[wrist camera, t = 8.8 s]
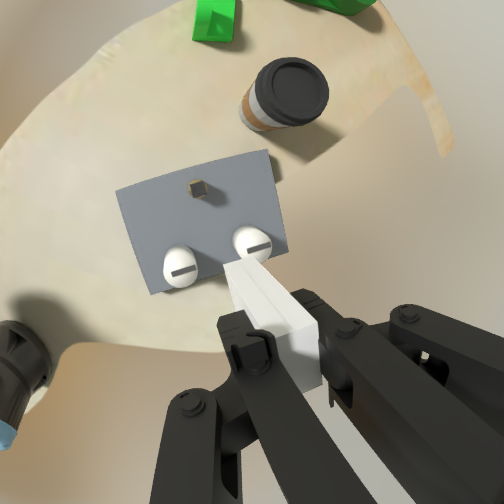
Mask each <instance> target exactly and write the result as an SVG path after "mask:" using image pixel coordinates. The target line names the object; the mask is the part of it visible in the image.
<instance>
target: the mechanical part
mask: <svg viewBox="0 0 504 504" xmlns="http://www.w3.org/2000/svg"><path fill="white" fill-rule="evenodd" d="M234 11H235V0H197V7H196V14H195V21H194V29H193V37H192V40H196V41H217V42H231V40H232V38H233V25H234Z"/></svg>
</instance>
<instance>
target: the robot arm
mask: <svg viewBox="0 0 504 504" xmlns="http://www.w3.org/2000/svg"><path fill="white" fill-rule="evenodd" d="M223 267H224V270H225V274H226V278H227V282H228V286H229V289H230V293H231V297H232V301H233V304H234V308H235V312H234V313H230V314H227V315H224V316H221V317H219V320H218V322H217V328H218V331H219V334H220V337H221V340H222V343H223V346H224V349H225V352H226V355H227V358H228V360H229V363H230V366H231V373H230V376H229V377H228V379H227V380H226V381H225V383H224V384H222V385H221V386H220V387H218V388H216V389H215V390H213V391H211V392H210V391H208V390H205V389H202V388H194V389H189V390H185V391H183V392H181V393H179V394H178V395H176V396H175V397H174V398H173V399H172V400H171V403H170V405H169V407H168V410H167V415H166V420H165V424H164V429H163V433H162V438H161V443H160V448H159V454H158V458H157V464H156V469H155V474H154V480H153V485H152V491H151V497H150V503H149V504H243V498H242V472H241V450H242V449H243V448H245V447H247V446H248V445H250V444H251V443H253V442H254V441H256V440H257V439H259V441H260V443H261V446H262V448H263V450H264V453H265V455H266V457H267V459H268V462H269V464H270V466H271V468H272V471H273V473H274V475H275V477H276V479H277V482H278V484H279V486H280V488H281V490H282V492H283V494H284V496H285V498H286V500H287V503H288V504H377V502H376V501H375V500H374V498H373V497H372V495H371V494H370V493H369V491H368V490H367V489H366V487H365V486H364V485H363V483H362V482H361V480H360V479H359V477H358V476H357V475H356V473H355V472H354V470H353V469H352V467H351V466H350V465H349V463H348V462H347V460H346V459H345V457H344V456H343V454H342V453H341V452H340V450H339V449H338V447H337V446H336V444H335V443H334V441H333V440H332V438H331V437H330V435H329V434H328V433H327V431H326V430H325V428H324V427H323V425H322V424H321V422H320V421H319V419H318V418H317V416H316V415H315V413H314V412H313V410H312V408H311V407H310V405H309V404H308V402H307V401H306V399H305V398H304V396H303V395H302V393H304V392H307V391H309V390H312V389H314V388H316V387H318V386H320V385H322V375H323V376H324V377H325V378H326V380H327V381H328V386H329V404H330V407H331V408H332V407H333V406H334V400H335V401H336V402H337V404H338V405H339V406H340V408H341V409H342V410H343V412H344V413H345V414H346V415H347V417H348V418H349V419H350V421H351V422H352V423H353V425H354V426H355V427H356V429H357V430H358V431H359V432H360V434H361V435H362V436H363V438H364V439H365V440H366V441H367V443H368V444H369V445H370V447H371V448H372V449H373V450H374V452H375V453H376V454H377V455H378V457H379V458H380V459H381V461H382V462H383V463H384V464H385V465H386V467H387V468H388V469H389V471H390V472H391V473H392V474H393V476H394V477H395V478H396V479H397V481H398V482H399V483H400V484H401V486H402V487H403V488H404V489H405V490H406V492H407V493H408V494H409V495H410V497H411V498H412V499H413V500H414V501H415V503H416V504H504V338H502V337H500V336H498V335H495V334H492V333H490V332H487V331H485V330H482V329H479V328H477V327H474V326H471V325H469V324H466V323H464V322H461V321H458V320H456V319H453V318H450V317H448V316H445V315H442V314H440V313H437V312H434V311H432V310H429V309H426V308H424V307H421V306H418V305H413V304H405V305H400V306H398V307H396V308H394V309H393V310H392V311H391V313H390V321H388V322H384V323H380V324H375V325H368V324H366V323H365V322H363V321H361V320H360V319H355V318H343V317H342V316H341V315H340V314H339V313H338V312H336V311H335V310H334V309H333V308H332V307H331V306H329V305H328V304H327V303H325V302H324V300H322V299H320V297H319V296H317V294H315V293H314V292H312V291H309V290H306V289H300V290H297V291H294V292H291V293H288V291H287V290H286V289H284V287H283V286H281V284H280V283H279V282H278V281H277V280H276V279H275V278H274V277H272V275H271V274H270V273H269V272H268V271H267V270H266V269H265V268H264V267H263V266H262V265H261V264H260V263H259V262H258V261H257V260H256V259H255V258H254V257H253V256H251V257H247V258H244V259H240V260H237V261H234V262H230V263H227V264H223ZM422 351H424V352H426V353H428V354H429V358H428V359H426V360H425V359H422V358H421V356H422ZM50 374H51V361H50V357H49V355H48V353H47V351H46V349H45V347H44V346H43V344H42V343H41V342H40V340H39V339H38V338H37V337H36V336H35V335H34V334H33V333H32V332H31V331H30V330H28V329H27V328H26V327H24V326H23V325H21V324H19V323H17V322H14V321H8V320H6V321H1V322H0V450H2V451H3V450H7V449H9V448H10V447H11V445H12V443H13V440H14V438H15V436H16V435H17V431H18V427H19V425H20V422H21V420H22V416H23V414H24V412H25V409H26V407H27V404H28V402H29V399H30V397H31V396H32V395H33V394H34V393H35V392H37V391H38V390H39V389H40V388H41V387H43V386H44V385H45V384H46V382H47V381H48V378H49V376H50Z"/></svg>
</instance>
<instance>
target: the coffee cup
mask: <svg viewBox="0 0 504 504" xmlns="http://www.w3.org/2000/svg"><path fill="white" fill-rule="evenodd" d="M328 99H329V88H328V83H327V81H326V79H325V77H324V75H323V74H322V72H321V71H320V70H319V69H318V68H317V67H316V66H315V65H313V64H312V63H310V62H309V61H307V60H305V59H301V58H297V57H288V58H280V59H276V60H274V61H272V62H271V63H269V64H268V65H266V66H265V67H263V69H262V70H261V71H260V72H259V73H258V76H257V78H256V80H255V81H254V82H253V84H252V85H251V87H250V88H249V90H248V91H247V93H246V94H245V96H244V98H243V100H242V101H241V104H240V106H239V114H240V118H241V120H242V122H243V123H244V124H245V125H246V126H247V127H249V128H250V129H252V130H255V131H268V130H275V129H280V128H286V127H289V126H293V127H294V126H303V125H305V124H308V123H310V122H311V121H313V120H315V119H316V118H317V117H319V116H320V115H321V113H322V112H323V110H324V109H325V107H326V105H327V102H328Z"/></svg>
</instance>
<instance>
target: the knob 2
mask: <svg viewBox="0 0 504 504" xmlns="http://www.w3.org/2000/svg"><path fill="white" fill-rule="evenodd" d="M232 245H233V247H234V249H235V250H236V251H237V253H238V254H239V255H240V257H241V258H242V259H244V258H247V257H251V256H253V257H254V258H255V259H256V260H257V261H258V262H259V263H260V264H261V263H263V262H264V261H265V260H267V259H268V257H269V256H270V254H271V251H272V243H271V240H270V238H269V237H268V236H267V235H266V234H265V233H263V232H262V231H260V230H259V229H258V228H256V227H255V226H253V225H242V226H240V227H238V228H237V229H236V230H235V232H234V233H233V236H232Z"/></svg>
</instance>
